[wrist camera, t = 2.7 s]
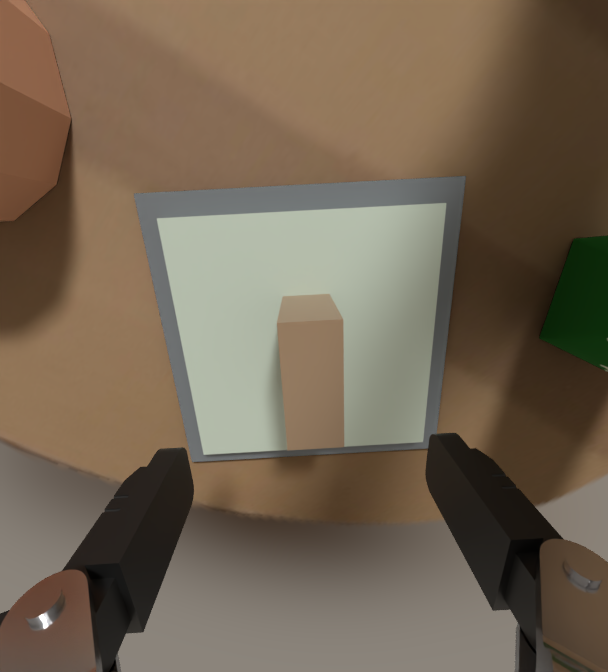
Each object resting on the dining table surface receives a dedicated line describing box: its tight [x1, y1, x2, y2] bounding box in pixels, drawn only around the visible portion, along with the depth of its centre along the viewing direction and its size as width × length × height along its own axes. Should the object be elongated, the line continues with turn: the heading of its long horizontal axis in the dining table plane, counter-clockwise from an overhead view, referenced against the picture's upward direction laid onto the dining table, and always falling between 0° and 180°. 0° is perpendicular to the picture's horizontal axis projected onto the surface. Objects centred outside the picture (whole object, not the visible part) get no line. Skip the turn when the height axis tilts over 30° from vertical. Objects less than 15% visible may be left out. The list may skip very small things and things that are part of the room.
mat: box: [134, 176, 466, 462], centre depth 21 cm, size 20×20×1 cm
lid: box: [157, 203, 446, 455], centre depth 18 cm, size 17×17×7 cm
